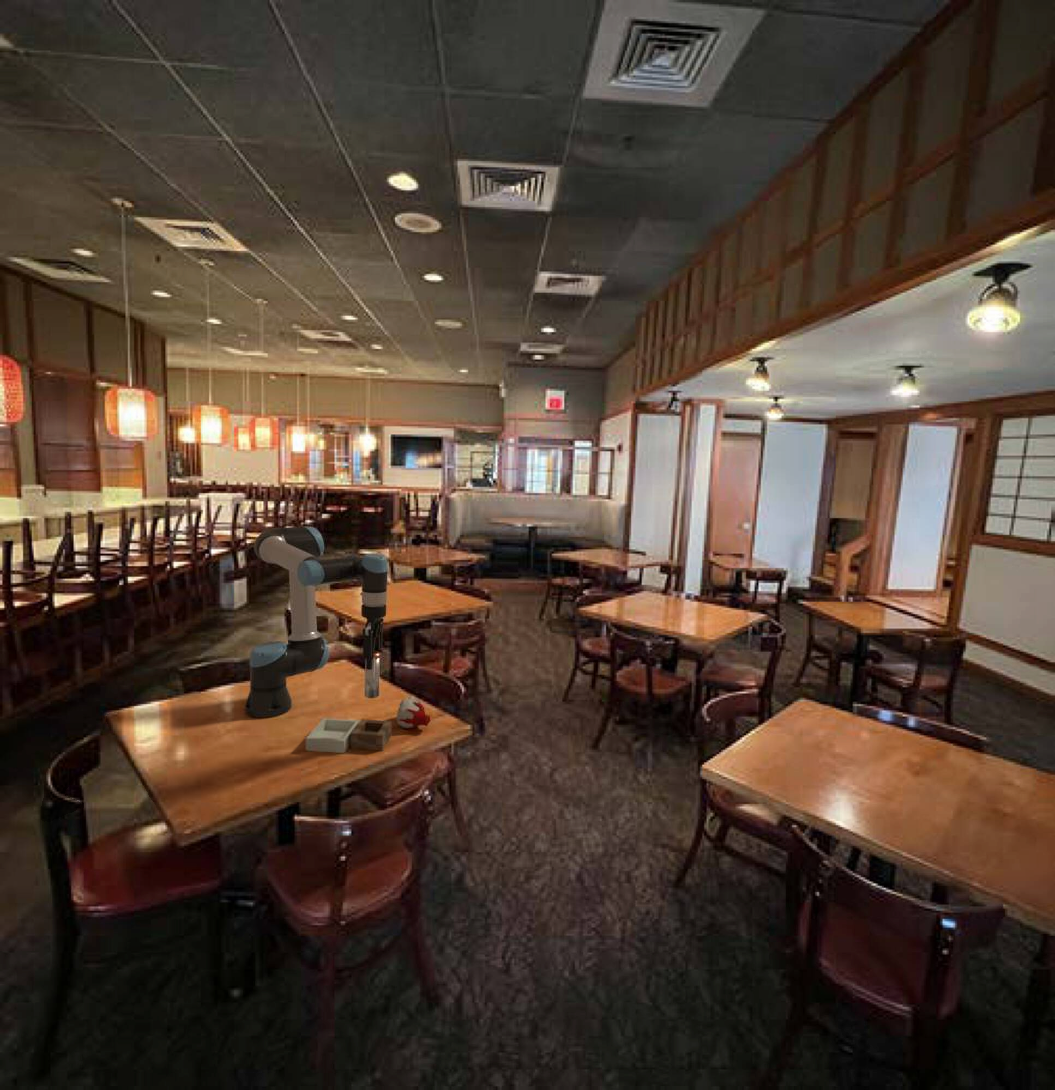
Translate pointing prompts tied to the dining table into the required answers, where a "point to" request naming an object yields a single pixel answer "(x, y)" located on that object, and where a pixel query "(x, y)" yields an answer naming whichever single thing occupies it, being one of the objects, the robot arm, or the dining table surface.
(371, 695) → the pin
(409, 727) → the candle
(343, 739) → the tray
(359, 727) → the block
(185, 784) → the dining table surface
